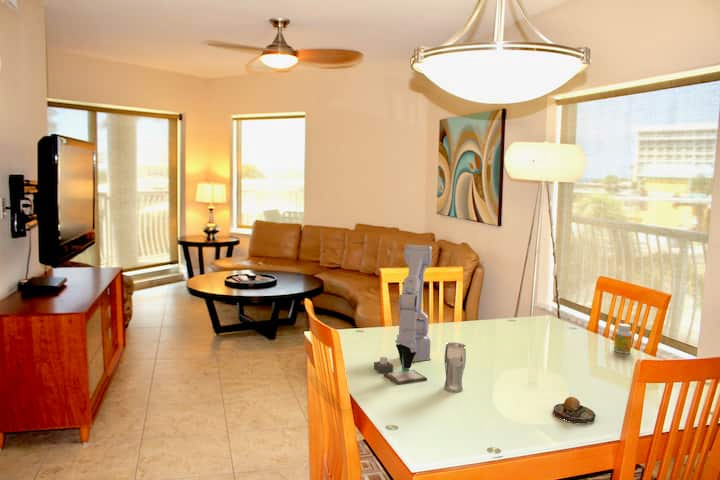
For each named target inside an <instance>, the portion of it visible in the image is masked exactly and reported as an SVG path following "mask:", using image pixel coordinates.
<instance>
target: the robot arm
mask: <svg viewBox="0 0 720 480" xmlns="http://www.w3.org/2000/svg"><path fill="white" fill-rule="evenodd" d="M432 253H433V247H432V246H431V245H420V244H407V243H406V245H405V246H404V254H403V256H404V257H403V258H404V261H405V263H406V266H408V276H406V277H405V278H404V280H403V285H402V290H401V294H399V297H398V314H399V323H398V324H399V325H398V326H399V327H398V334H396V340H395V343H396V344H395V348H396V349H397V352H398V356H399V360H400V362H399V363H400V365H401V366H402V355H403V363H404V368H409V369H411V367H412V364H413V363H414V362H422V361H430V360H432V358H431V339H430V337H429V335H428V333H429V316H428V314H427V313H426V312H424V310H423V295H424V294H423V293H424V281H425V280H424V278H425V271H426V269H427V268H430V267H431V265H432V256H433V254H432Z"/></svg>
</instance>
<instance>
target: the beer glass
mask: <svg viewBox="0 0 720 480" xmlns="http://www.w3.org/2000/svg"><path fill="white" fill-rule="evenodd" d="M443 358H444V359H443V360H444V370H445V382H444V386H443V389H444V390H445V391H447V392H450V393H461V392H462V391H464V390H463V389H464V388H463V375H464V371H465V367H466V360H467V345H465V344H464V343H462V342H447V343H445V348H444V357H443Z"/></svg>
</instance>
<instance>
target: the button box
mask: <svg viewBox="0 0 720 480" xmlns="http://www.w3.org/2000/svg"><path fill="white" fill-rule="evenodd" d="M373 370H374V371H376V372H377V373H379V374H382V375H383V374H386V373H393V372H394V364H392V363H391V362H389V361H388V363H387V365H382V366H381V365H380V360H379V361H374V362H373Z"/></svg>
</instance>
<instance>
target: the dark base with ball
mask: <svg viewBox="0 0 720 480" xmlns="http://www.w3.org/2000/svg"><path fill="white" fill-rule="evenodd" d="M552 413H553V414H555V415H556V416H557V418H558V419H559V418H561V419H565V420H567V421H570V422H573V423H572V424H576V423H588V422H592V423H594V422H595V419H596V413H595V412H594V411H593V410H592V409H590V408H589V407H587V406H584V405H581V403H580V400H579V399H578V398H576V397H574V396H569V397H567V398H565V399H564V402H563V403H558V404H556V405H554V406H553V411H552ZM555 415H554V416H555ZM556 416H555V417H556ZM561 419H560V420H561ZM567 421H566V422H567ZM593 421H594V422H593ZM570 422H569V423H570Z"/></svg>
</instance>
